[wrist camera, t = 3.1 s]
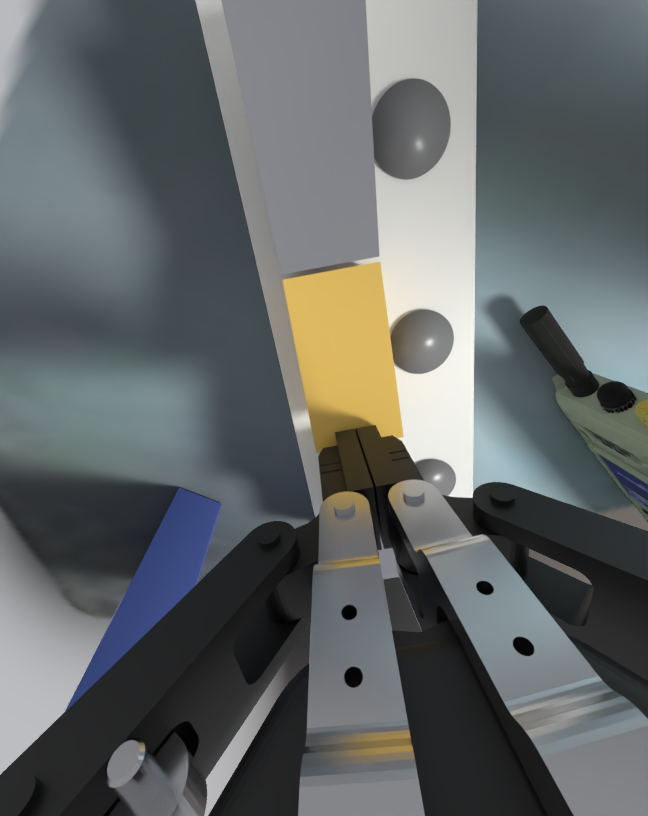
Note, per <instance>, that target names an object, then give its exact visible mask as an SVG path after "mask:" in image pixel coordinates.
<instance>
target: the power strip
mask: <svg viewBox="0 0 648 816" xmlns="http://www.w3.org/2000/svg"><path fill="white" fill-rule="evenodd" d="M195 1H196V5H197V9H198V14H199V18H200V22H201V27H202V31H203V35H204V40H205V44H206V48H207V53H208V57H209V61H210V65H211V70H212V74H213V78H214V83H215V87H216V91H217V96H218V100H219V104H220V109H221V113H222V117H223V122H224V126H225V130H226V134H227V139H228V143H229V147H230V152H231V156H232V160H233V165H234V169H235V173H236V178H237V182H238V186H239V191H240V195H241V199H242V203H243V208H244V212H245V216H246V221H247V225H248V229H249V234H250V238H251V242H252V247H253V251H254V255H255V260H256V264H257V268H258V273H259V277H260V281H261V285H262V290H263V294H264V298H265V303H266V307H267V311H268V316H269V320H270V324H271V329H272V333H273V337H274V342H275V346H276V350H277V354H278V359H279V363H280V367H281V372H282V376H283V380H284V385H285V389H286V393H287V398H288V402H289V406H290V411H291V415H292V419H293V423H294V428H295V432H296V436H297V441H298V445H299V449H300V454H301V458H302V462H303V467H304V471H305V475H306V480H307V484H308V488H309V493H310V497H311V501H312V505H313V510H314V514H315V518H316V516H317V515H318V514H319V512H320V507H321V504H322V503H323V499H322V490H321V480H320V470H319V461H318V456H319V453H316V449H315V444H314V439H313V434H312V429H311V424H310V419H309V414H308V409H307V403H306V398H305V393H304V388H303V383H302V378H301V373H300V368H299V363H298V357H297V352H296V347H295V342H294V337H293V332H292V327H291V322H290V317H289V311H288V306H287V301H286V296H285V291H284V286H283V281H282V280H284V279H289V278H295V277H300V276H305V275H311V274H316V273H321V272H327V271H332V270H337V269H343V268H348V267H354V266H359V265H364V264H370V263H375V262H380V264H381V271H382V278H383V286H384V293H385V301H386V308H387V316H388V323H389V331H390V338H391V346H392V353H393V361H394V368H395V376H396V383H397V390H398V398H399V405H400V413H401V420H402V428H403V435H404V437H402V438H398V439H399V440H401V441H402V442H403V444H404V446H405V447H406V449H407V451H408V453H409V454H410V456H411V458H412V460H413V461H414V463H415V465H416V467H417V469H418V470H419V472H420V474H421V476H422V477H423V479H424V481H426V482H428V483H430V484H432V485H434V486H435V487H436V488H437V489H438V490H439V492H440V493H441V494H442V495H445V496H450V497H463V498H473V422H474V315H475V208H476V101H477V0H366V16H367V35H368V53H369V72H370V90H371V109H372V127H373V146H374V164H375V182H376V201H377V219H378V238H379V257H374V258H368V259H363V260H358V261H352V262H347V263H342V264H336V265H331V266H326V267H320V268H315V269H309V270H304V271H299V272H293V273H288V274H283V275H281V271H280V266H279V262H278V257H277V253H276V248H275V244H274V239H273V234H272V230H271V225H270V221H269V216H268V212H267V207H266V202H265V198H264V193H263V189H262V184H261V180H260V175H259V170H258V166H257V161H256V157H255V152H254V148H253V143H252V139H251V134H250V129H249V125H248V120H247V116H246V111H245V107H244V102H243V97H242V93H241V88H240V84H239V79H238V75H237V70H236V65H235V61H234V56H233V52H232V47H231V43H230V38H229V33H228V29H227V24H226V20H225V15H224V11H223V6H222V2H221V0H195Z"/></svg>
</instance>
